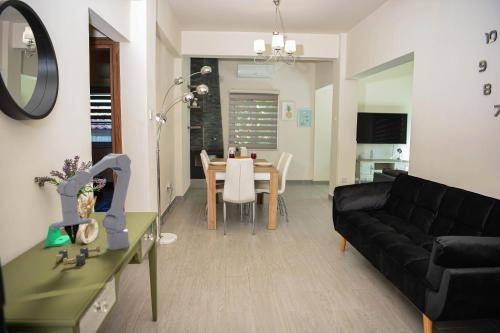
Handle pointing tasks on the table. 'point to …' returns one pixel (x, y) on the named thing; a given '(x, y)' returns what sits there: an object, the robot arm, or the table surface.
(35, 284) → the table surface
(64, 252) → the knob
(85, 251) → the knob
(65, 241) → the camera mount
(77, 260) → the knob
